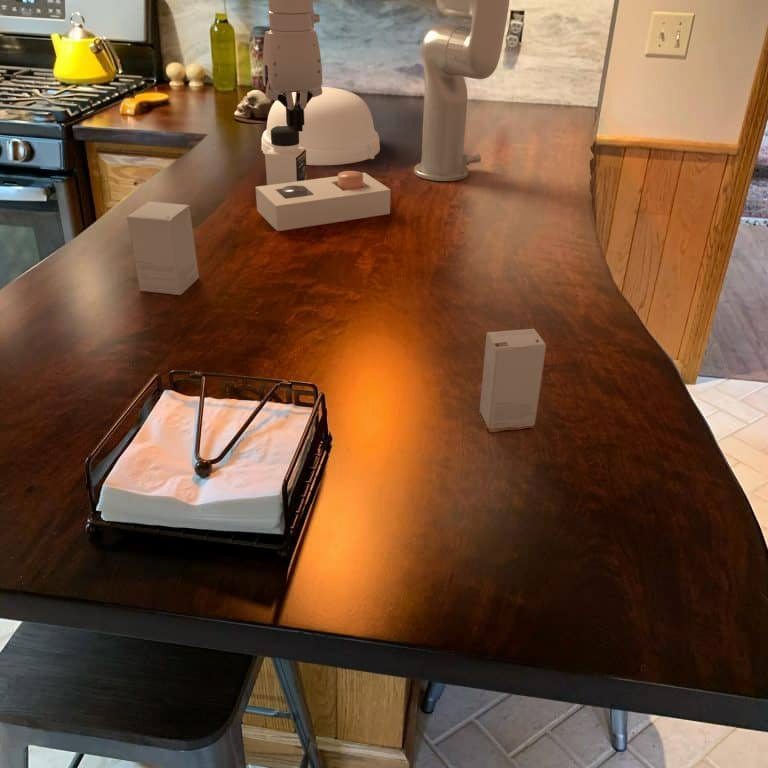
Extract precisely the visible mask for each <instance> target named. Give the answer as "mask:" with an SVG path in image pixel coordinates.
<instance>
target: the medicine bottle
mask: <svg viewBox="0 0 768 768" xmlns="http://www.w3.org/2000/svg"><path fill="white" fill-rule="evenodd" d="M271 146H272V149H270V150H269V151H268V152H267V153H266V154H264V156H265V158H264V159H265V171H266V185H273V184H281V183H289V182H296V181H304V180H307V177H308V176H307V165H306V148H305V147H299V131H297V132H293V131H292V130H290V129H289V127H288V126H287V125H280V126H276V127H274V128H272V129H271Z"/></svg>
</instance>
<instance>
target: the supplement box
mask: <svg viewBox="0 0 768 768" xmlns="http://www.w3.org/2000/svg"><path fill="white" fill-rule="evenodd" d="M190 208H191V207H190V205H189V204H179V203H178V204H177V203H170V202H168V203H167V202H159V201H147V202H146V203H144V204H143V205H141V206H140V207H139V208H137V209H136V210H135V211H133V212H131V213H130V214H129V215H127V216H126V220H127V225H128V229H129V235H130V236H129V237H130V240H131V241H130V242H131V246H132V252H133V259H134V264H135V270H136V274H137V275H136V276H137V280H138V286H139V290H140V291H141V292H148V293H149V292H150V293H160V294H168V295H177V296H181V295H183V294H184V293H185V292H186V291H187V290H188V289H189V288H190V287H191V286H192V285H193V284H194V283H195V282H197V280H198V279H199V278H200V275H199V268H198V261H197V253H196V245H195V236H194V231H193V223H192V214H191V209H190Z"/></svg>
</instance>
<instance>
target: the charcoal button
mask: <svg viewBox="0 0 768 768" xmlns="http://www.w3.org/2000/svg"><path fill="white" fill-rule="evenodd" d="M282 196H283V197H284V198H285V199H288V198H295V197H302V196H308V191H307V188H306V187H303V186H296V185H294V186H287V187H284V188H282Z"/></svg>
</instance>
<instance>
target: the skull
mask: <svg viewBox="0 0 768 768" xmlns="http://www.w3.org/2000/svg"><path fill="white" fill-rule="evenodd" d="M272 101H273V100H270V99H268V98H266V96H265V93H264V92H263V91H261V90H259V89H253V90H251V91H249V92H247V93H246V96H243V98H242V100H240V103H239V104H237V109H236V111H234V114H233V116H232V117H233V118H234V119H235V120H237V121H239V122H244V123H251V124H267V121H268V116H269V112H270V109H271V107H272V105H273V102H272Z"/></svg>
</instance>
